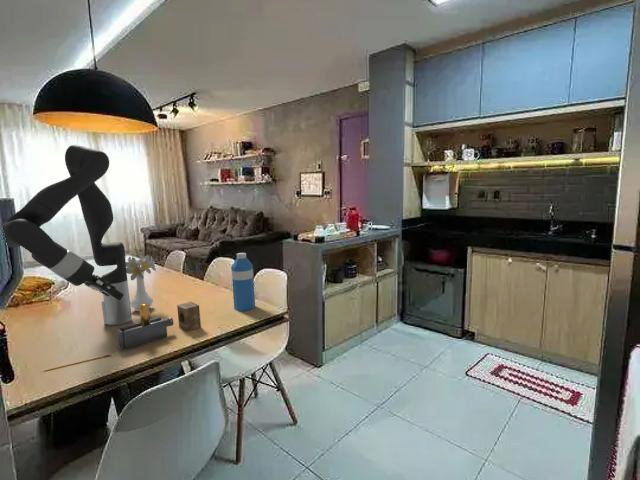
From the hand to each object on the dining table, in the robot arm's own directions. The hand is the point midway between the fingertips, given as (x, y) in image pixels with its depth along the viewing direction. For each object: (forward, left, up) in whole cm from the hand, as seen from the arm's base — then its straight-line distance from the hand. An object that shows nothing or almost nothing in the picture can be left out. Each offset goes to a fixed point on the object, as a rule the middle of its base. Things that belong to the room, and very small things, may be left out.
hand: (115, 295), depth 115 cm
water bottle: (+34, +39, -19) cm, 55 cm away
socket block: (+17, +18, -19) cm, 31 cm away
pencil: (-9, -9, -19) cm, 23 cm away
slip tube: (+6, +7, -16) cm, 19 cm away
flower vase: (-13, +41, -19) cm, 47 cm away
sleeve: (+5, +6, -19) cm, 20 cm away
